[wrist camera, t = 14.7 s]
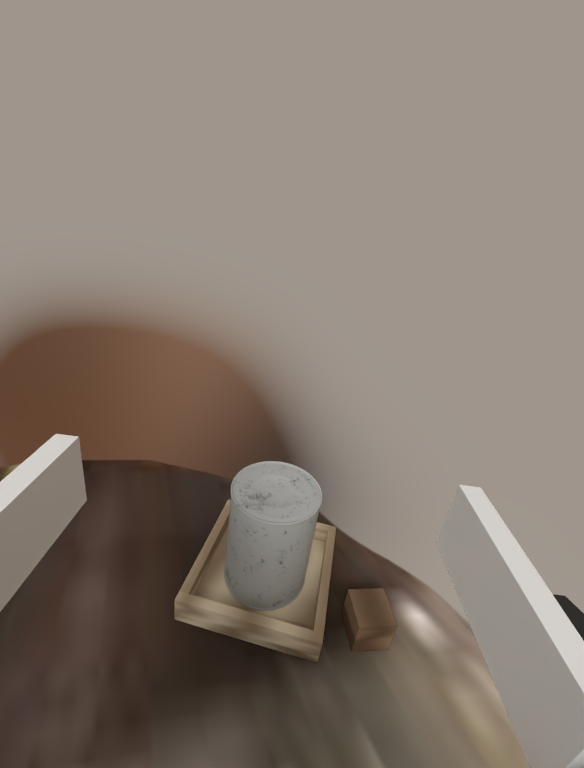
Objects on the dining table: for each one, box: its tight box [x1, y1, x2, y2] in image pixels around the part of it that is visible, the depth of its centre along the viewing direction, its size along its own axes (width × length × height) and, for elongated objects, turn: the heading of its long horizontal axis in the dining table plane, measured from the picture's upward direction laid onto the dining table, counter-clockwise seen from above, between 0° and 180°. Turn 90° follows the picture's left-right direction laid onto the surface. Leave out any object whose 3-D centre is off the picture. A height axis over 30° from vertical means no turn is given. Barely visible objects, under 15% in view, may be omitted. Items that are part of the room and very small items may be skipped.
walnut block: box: [342, 588, 398, 652], centre depth 38 cm, size 4×4×4 cm
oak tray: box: [175, 500, 336, 663], centre depth 43 cm, size 15×15×3 cm
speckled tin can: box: [224, 461, 322, 611], centre depth 40 cm, size 10×10×12 cm
